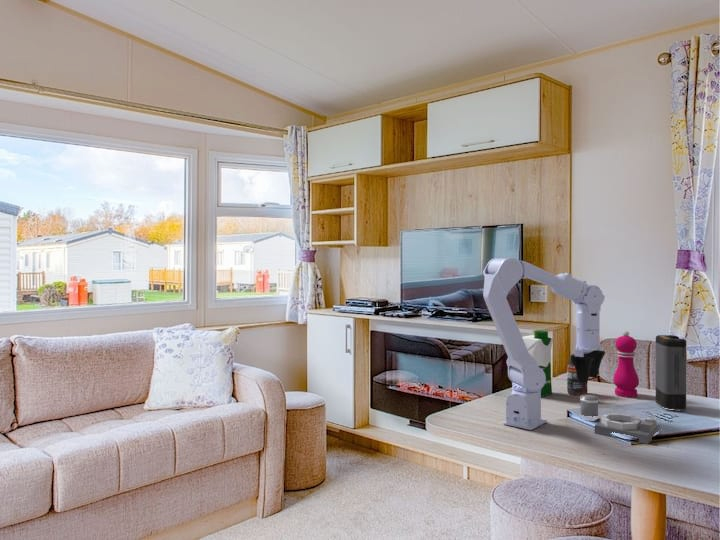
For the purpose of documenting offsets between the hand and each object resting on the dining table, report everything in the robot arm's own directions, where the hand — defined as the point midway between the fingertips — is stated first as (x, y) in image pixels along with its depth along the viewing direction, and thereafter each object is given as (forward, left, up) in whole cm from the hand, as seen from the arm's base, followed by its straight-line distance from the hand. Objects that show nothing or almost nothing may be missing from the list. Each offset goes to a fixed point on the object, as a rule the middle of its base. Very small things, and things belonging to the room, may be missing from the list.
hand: (588, 379), depth 149 cm
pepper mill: (+31, 0, -11) cm, 33 cm away
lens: (-1, -1, -10) cm, 10 cm away
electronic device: (+25, -14, -11) cm, 31 cm away
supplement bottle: (+23, +12, -11) cm, 29 cm away
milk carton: (+15, +22, -11) cm, 29 cm away
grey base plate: (-7, -12, -10) cm, 17 cm away
